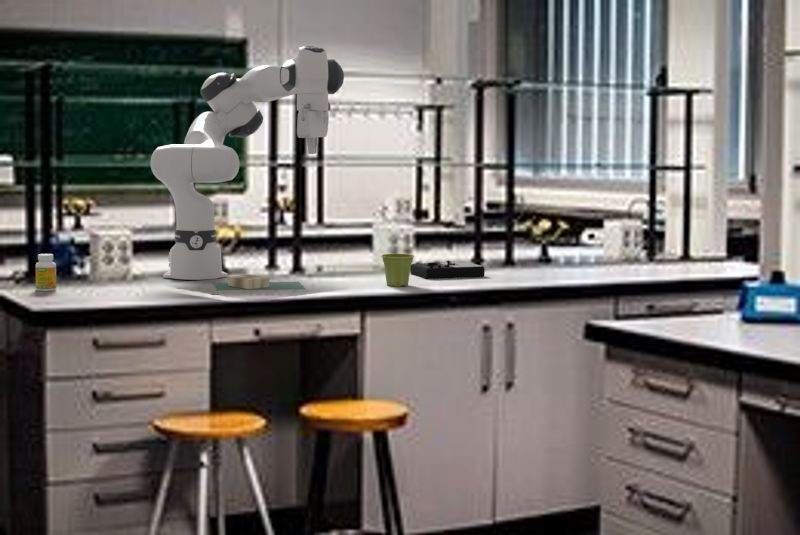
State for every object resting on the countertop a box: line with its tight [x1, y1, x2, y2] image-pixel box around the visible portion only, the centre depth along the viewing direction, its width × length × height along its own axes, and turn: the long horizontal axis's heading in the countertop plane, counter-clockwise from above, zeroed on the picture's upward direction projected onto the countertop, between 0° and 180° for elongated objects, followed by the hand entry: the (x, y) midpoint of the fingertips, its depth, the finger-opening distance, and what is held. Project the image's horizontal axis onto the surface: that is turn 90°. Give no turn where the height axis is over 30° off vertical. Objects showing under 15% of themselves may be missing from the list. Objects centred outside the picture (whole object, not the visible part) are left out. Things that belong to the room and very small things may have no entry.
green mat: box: [213, 281, 306, 296], centre depth 357 cm, size 16×24×1 cm, turn 101°
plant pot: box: [380, 253, 415, 288], centre depth 370 cm, size 9×9×9 cm
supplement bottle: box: [35, 253, 57, 292], centre depth 351 cm, size 5×5×10 cm
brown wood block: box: [227, 274, 270, 291], centre depth 354 cm, size 9×3×7 cm
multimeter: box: [410, 260, 485, 280], centre depth 395 cm, size 13×19×5 cm
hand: (312, 153), depth 366 cm, fingers closed
